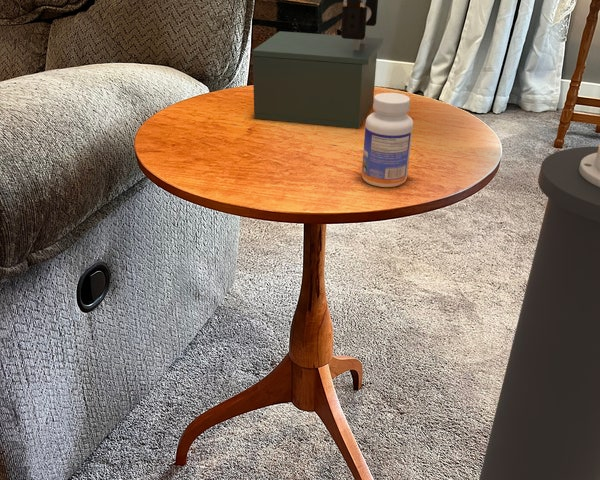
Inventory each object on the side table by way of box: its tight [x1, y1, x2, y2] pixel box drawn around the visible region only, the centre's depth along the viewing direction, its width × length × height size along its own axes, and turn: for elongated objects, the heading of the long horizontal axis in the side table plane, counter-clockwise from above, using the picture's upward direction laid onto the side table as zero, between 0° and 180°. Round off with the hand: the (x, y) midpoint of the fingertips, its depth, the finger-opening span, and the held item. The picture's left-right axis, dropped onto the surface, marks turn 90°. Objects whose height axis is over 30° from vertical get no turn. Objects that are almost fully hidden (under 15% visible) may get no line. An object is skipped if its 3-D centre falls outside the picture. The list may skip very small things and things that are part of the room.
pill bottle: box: [361, 92, 414, 188], centre depth 74 cm, size 5×5×10 cm
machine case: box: [252, 52, 378, 129], centre depth 97 cm, size 16×14×9 cm
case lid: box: [252, 6, 384, 65], centre depth 93 cm, size 16×14×6 cm
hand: (359, 31), depth 92 cm, fingers open, 9 cm apart
